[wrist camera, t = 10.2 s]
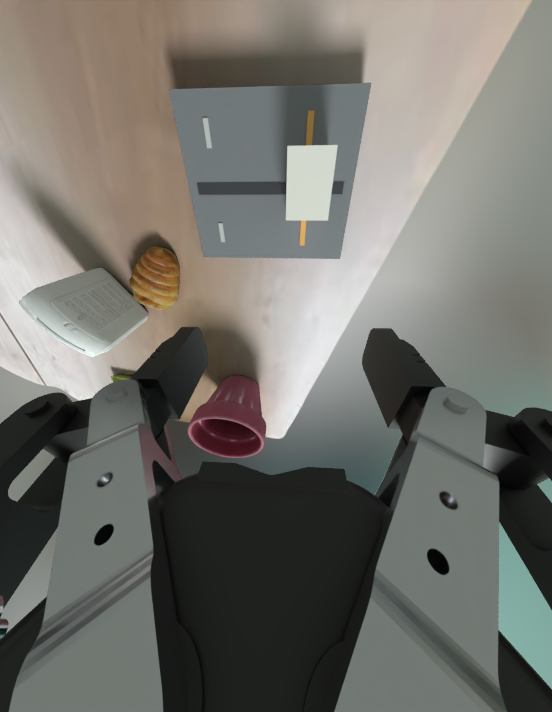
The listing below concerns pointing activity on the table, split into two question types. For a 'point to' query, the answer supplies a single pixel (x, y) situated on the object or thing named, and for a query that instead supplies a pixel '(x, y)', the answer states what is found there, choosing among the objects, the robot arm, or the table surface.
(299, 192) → the fader tab
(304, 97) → the console
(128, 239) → the table surface
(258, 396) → the plant pot
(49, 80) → the table surface
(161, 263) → the pastry
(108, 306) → the photo printer
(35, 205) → the table surface
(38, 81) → the table surface
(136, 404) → the robot arm
